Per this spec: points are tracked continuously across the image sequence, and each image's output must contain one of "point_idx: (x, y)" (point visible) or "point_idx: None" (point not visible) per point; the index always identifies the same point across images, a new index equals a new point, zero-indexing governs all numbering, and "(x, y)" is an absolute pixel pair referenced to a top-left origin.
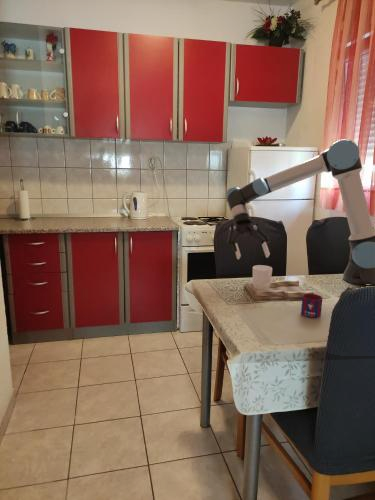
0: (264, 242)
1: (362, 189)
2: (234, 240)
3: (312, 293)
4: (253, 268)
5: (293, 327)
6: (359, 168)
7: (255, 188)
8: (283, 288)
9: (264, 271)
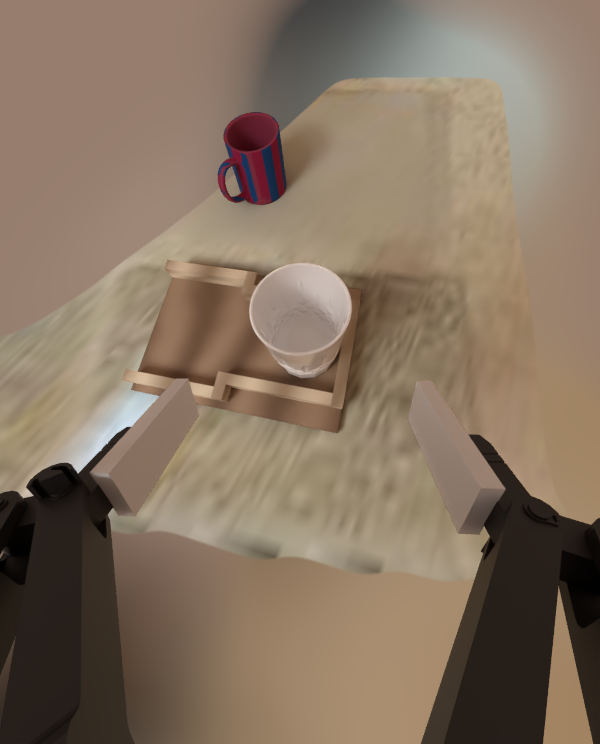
0: (115, 464)
1: None
2: (537, 539)
3: (225, 164)
4: (351, 309)
5: (345, 140)
6: None
7: None
8: (214, 353)
9: (314, 267)
